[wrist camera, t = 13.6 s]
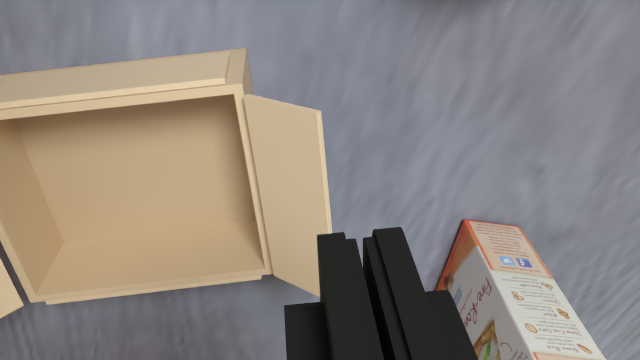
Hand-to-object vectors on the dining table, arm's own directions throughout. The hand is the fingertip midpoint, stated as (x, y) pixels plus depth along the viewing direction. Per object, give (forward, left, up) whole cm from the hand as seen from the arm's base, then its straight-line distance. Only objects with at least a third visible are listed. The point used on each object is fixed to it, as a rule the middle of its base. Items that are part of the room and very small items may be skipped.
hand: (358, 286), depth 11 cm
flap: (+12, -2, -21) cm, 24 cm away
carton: (+12, -13, -30) cm, 35 cm away
